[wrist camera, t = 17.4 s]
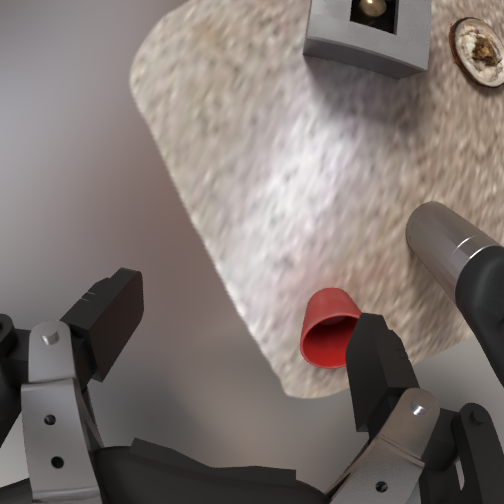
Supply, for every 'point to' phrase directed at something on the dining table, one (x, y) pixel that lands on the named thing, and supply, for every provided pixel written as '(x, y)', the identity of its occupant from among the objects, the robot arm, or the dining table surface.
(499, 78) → the plate of food
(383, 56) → the box
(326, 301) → the flower pot
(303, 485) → the robot arm
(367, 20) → the brown glossy cylinder
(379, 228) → the dining table surface
